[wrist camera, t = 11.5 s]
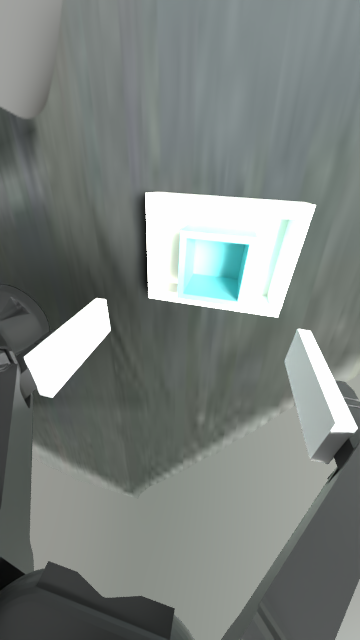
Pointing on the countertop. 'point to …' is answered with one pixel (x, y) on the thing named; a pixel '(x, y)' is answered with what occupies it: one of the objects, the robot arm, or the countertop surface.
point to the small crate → (216, 262)
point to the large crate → (266, 215)
